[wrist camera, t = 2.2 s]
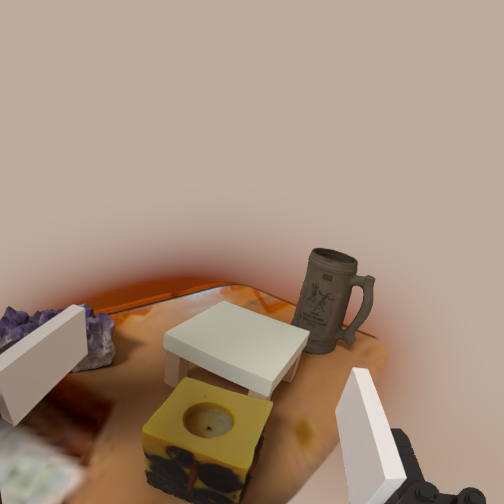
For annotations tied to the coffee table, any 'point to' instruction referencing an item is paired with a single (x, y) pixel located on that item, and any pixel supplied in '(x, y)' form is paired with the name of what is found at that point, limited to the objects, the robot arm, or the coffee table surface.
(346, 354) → the coffee table surface
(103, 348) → the geode
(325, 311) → the beer stein
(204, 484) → the candle
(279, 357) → the footstool
